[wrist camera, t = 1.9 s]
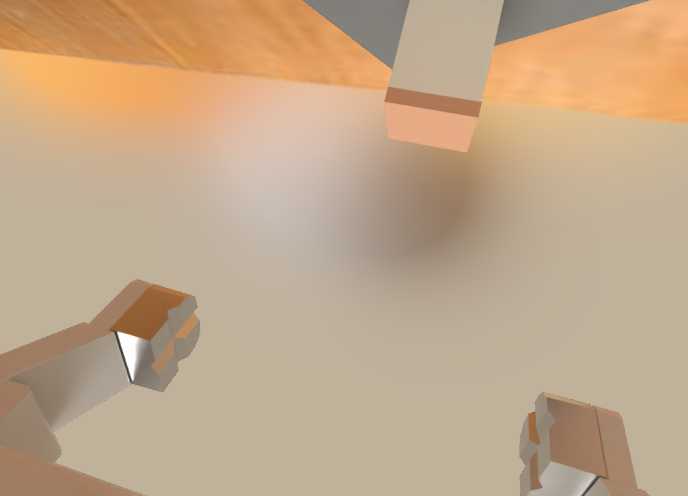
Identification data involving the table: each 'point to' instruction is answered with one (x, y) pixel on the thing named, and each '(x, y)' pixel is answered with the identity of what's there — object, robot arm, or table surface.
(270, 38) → the table surface
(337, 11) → the mat
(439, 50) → the block
